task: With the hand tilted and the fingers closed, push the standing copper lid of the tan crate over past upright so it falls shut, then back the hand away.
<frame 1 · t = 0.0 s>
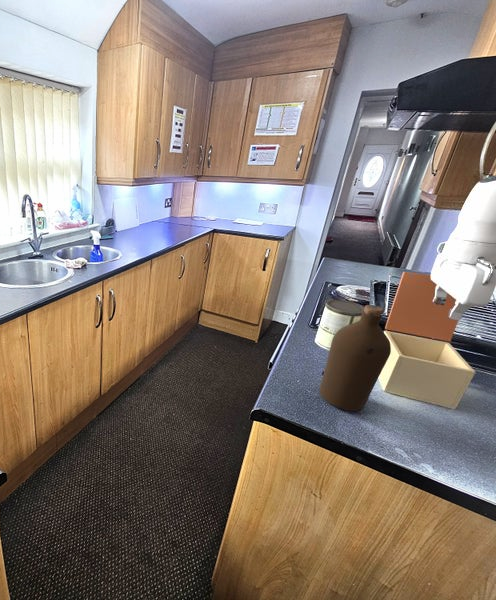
hand: (445, 310, 76), 23 cm above the worktop, tool pointing down, fingers open, 8 cm apart
tan crate: (408, 383, 88), on the worktop
lid: (426, 306, 88), point 19 cm above the worktop, hinge at 100.4°
brown bottle: (340, 398, 82), on the worktop
coffee can: (332, 345, 106), on the worktop
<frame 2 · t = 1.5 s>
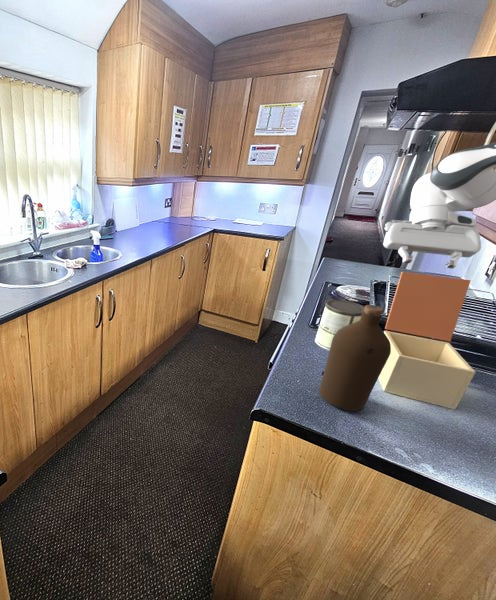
hand: (428, 264, 91), 29 cm above the worktop, tool tilted 40°, fingers open, 8 cm apart
lid: (425, 305, 88), point 19 cm above the worktop, hinge at 105.1°
everything else where it was.
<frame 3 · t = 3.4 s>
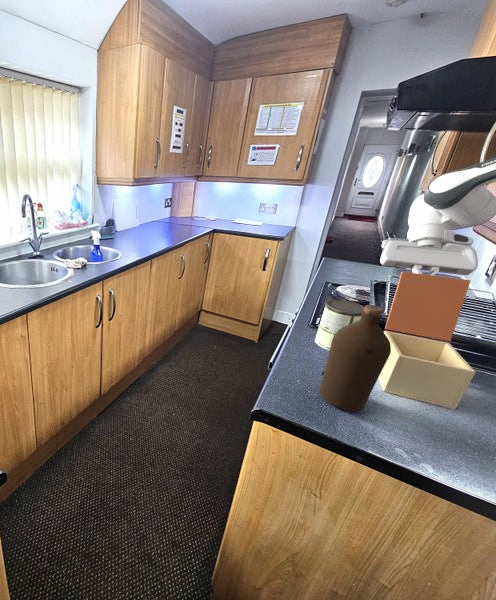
hand: (424, 281, 92), 24 cm above the worktop, tool tilted 45°, fingers closed
nothing on the worktop moved.
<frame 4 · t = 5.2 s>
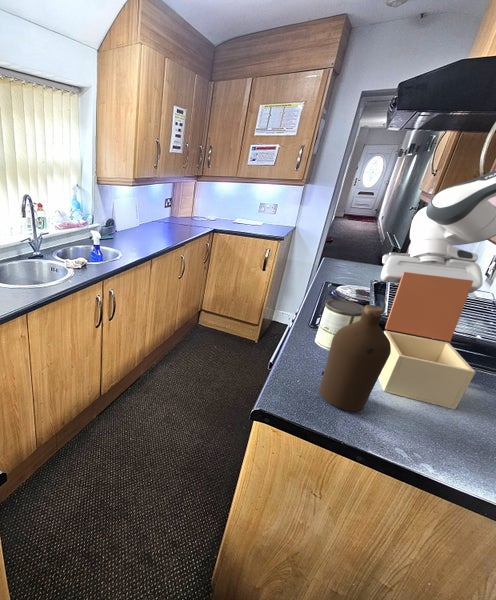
hand: (427, 299, 89), 21 cm above the worktop, tool tilted 45°, fingers closed
lid: (426, 306, 88), point 19 cm above the worktop, hinge at 100.3°, touching gripper
everything else where it was.
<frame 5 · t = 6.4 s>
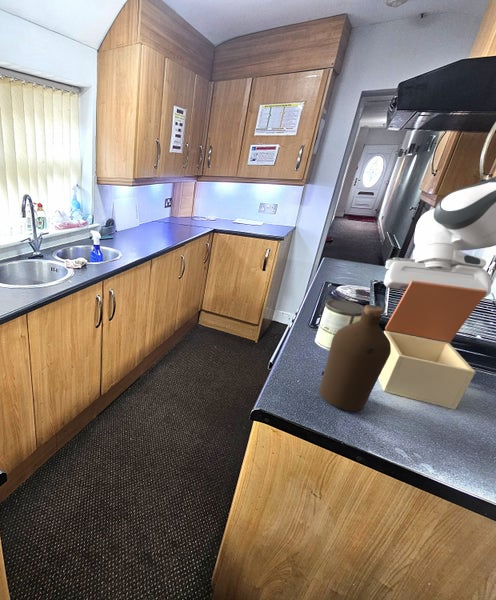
hand: (432, 306, 85), 20 cm above the worktop, tool tilted 45°, fingers closed
lid: (431, 311, 85), point 19 cm above the worktop, hinge at 73.1°
everything else where it was.
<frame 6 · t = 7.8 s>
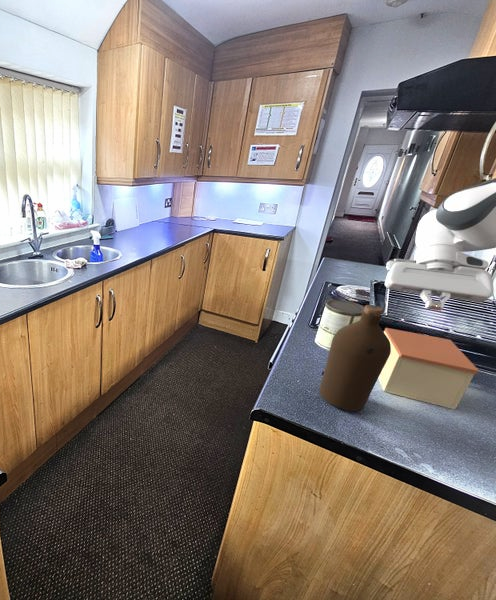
hand: (434, 308, 84), 20 cm above the worktop, tool tilted 45°, fingers closed
lid: (426, 348, 83), point 11 cm above the worktop, hinge at -0.1°
everything else where it was.
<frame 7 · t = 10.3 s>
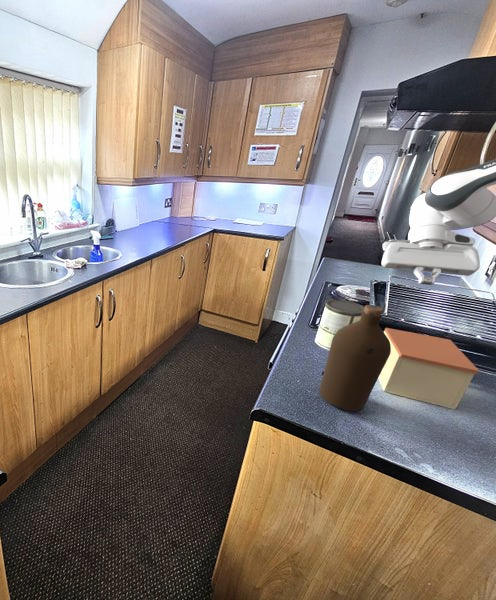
hand: (426, 283, 92), 24 cm above the worktop, tool tilted 40°, fingers closed
nothing on the worktop moved.
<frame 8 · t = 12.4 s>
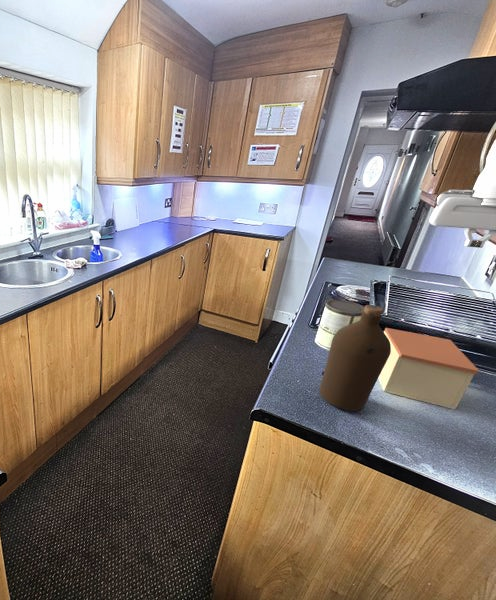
hand: (472, 246, 85), 35 cm above the worktop, tool pointing down, fingers closed
nothing on the worktop moved.
at the end: lid at +0° (first picture: +100°); coffee can moved 0.1 cm from its start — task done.
